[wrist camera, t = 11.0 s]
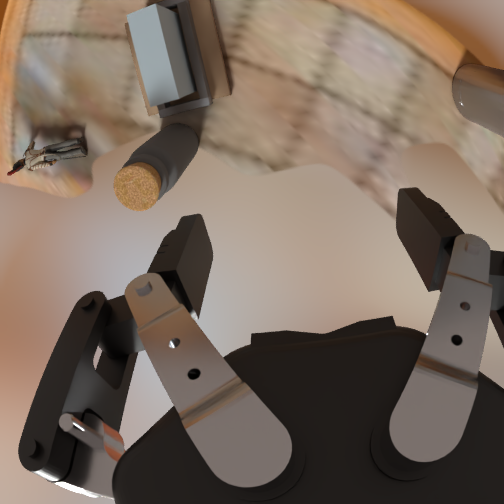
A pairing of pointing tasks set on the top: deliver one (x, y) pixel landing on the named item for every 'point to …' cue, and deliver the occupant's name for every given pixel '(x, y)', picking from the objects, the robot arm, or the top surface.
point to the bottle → (155, 167)
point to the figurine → (47, 155)
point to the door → (161, 54)
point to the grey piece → (193, 57)
